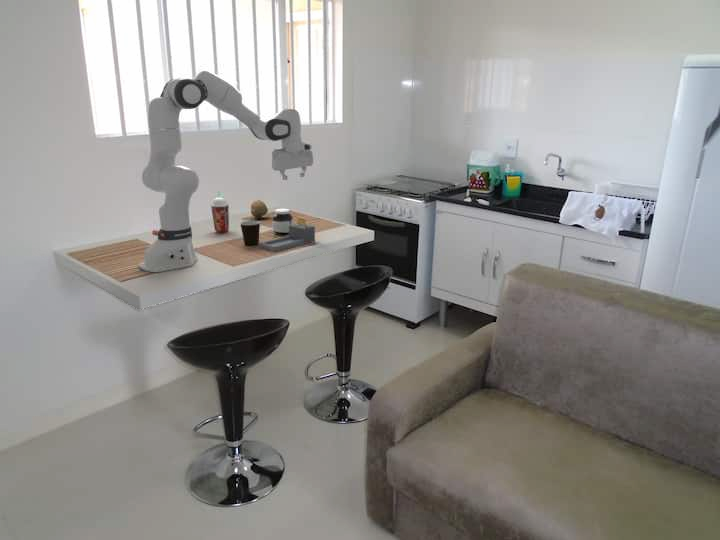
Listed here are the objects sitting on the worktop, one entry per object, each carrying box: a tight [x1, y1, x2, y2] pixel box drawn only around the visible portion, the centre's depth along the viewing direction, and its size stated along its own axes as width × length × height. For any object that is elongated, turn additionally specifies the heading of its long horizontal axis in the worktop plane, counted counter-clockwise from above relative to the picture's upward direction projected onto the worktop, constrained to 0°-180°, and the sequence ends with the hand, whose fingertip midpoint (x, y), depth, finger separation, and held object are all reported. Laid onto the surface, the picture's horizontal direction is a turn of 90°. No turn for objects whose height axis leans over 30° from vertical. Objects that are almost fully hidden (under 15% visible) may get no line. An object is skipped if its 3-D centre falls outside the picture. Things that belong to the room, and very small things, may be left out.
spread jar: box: [272, 208, 294, 236], centre depth 262 cm, size 12×11×12 cm
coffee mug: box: [240, 220, 261, 247], centre depth 243 cm, size 12×9×10 cm
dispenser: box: [259, 223, 316, 253], centre depth 242 cm, size 24×10×8 cm, turn 138°
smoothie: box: [210, 191, 230, 234], centre depth 262 cm, size 8×8×20 cm
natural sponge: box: [250, 199, 269, 219], centre depth 292 cm, size 9×9×10 cm
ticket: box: [296, 216, 307, 227], centre depth 248 cm, size 1×5×9 cm, turn 48°
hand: (293, 178), depth 240 cm, fingers open, 8 cm apart
